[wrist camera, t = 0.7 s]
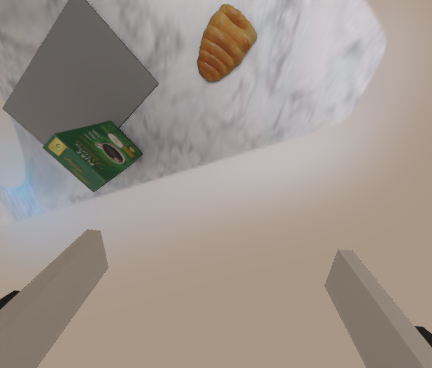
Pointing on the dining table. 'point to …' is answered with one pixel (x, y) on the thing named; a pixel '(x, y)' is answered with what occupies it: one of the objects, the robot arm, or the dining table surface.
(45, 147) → the coffee box
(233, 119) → the dining table surface
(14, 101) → the slate mat
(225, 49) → the pastry
